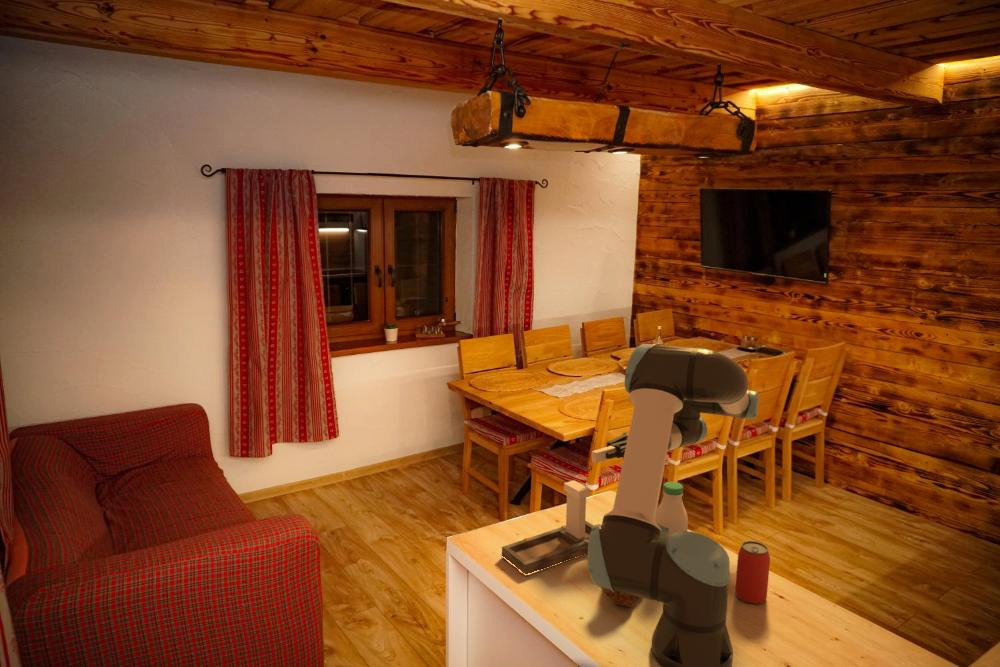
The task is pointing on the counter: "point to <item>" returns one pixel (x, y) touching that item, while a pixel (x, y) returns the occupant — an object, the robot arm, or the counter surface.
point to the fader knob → (575, 513)
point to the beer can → (752, 572)
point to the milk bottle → (671, 510)
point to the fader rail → (544, 550)
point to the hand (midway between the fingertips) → (594, 457)
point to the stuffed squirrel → (621, 598)
